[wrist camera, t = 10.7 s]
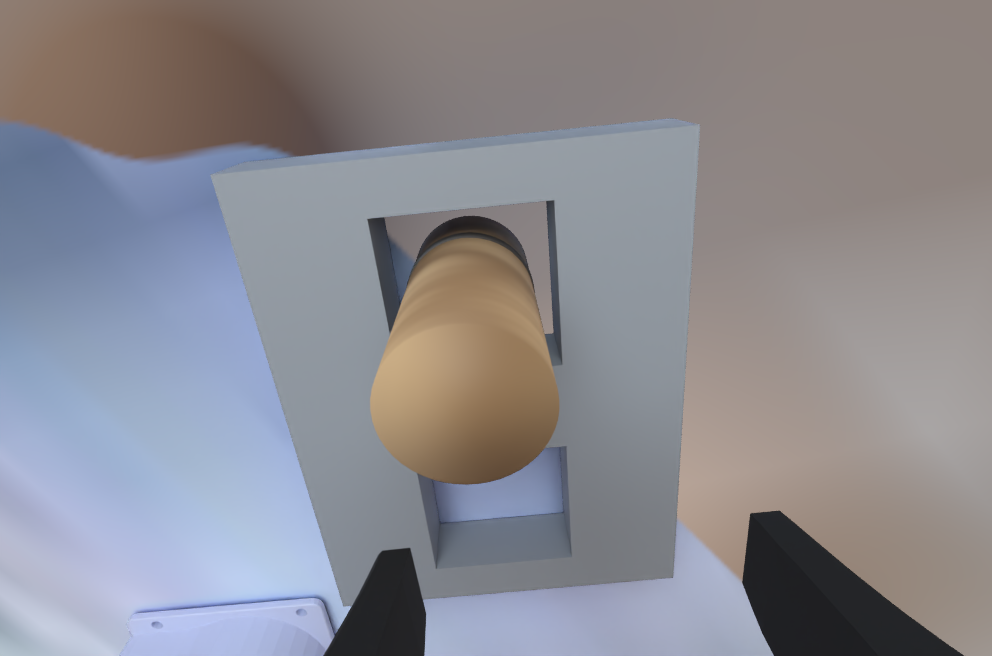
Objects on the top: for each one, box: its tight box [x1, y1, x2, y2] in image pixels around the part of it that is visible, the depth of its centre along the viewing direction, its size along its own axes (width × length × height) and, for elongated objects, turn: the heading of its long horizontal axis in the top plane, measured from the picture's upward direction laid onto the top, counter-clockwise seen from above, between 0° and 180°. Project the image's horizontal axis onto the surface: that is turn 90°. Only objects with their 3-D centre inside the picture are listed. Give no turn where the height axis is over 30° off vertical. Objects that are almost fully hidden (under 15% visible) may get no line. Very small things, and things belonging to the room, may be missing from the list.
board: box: [211, 118, 700, 606], centre depth 20 cm, size 14×18×2 cm
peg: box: [370, 216, 559, 484], centre depth 16 cm, size 4×4×9 cm
